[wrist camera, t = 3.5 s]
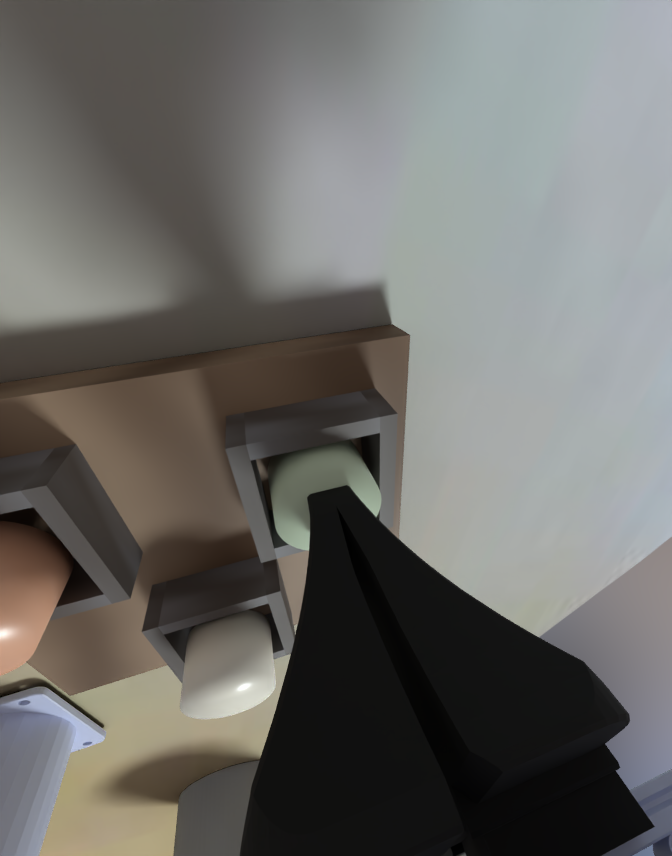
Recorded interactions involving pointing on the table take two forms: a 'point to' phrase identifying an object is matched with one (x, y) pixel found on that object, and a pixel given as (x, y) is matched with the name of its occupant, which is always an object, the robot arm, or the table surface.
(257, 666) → the cream key
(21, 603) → the peach domed piece
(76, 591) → the key panel
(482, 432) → the table surface
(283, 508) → the sage key
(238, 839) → the coffee mug
